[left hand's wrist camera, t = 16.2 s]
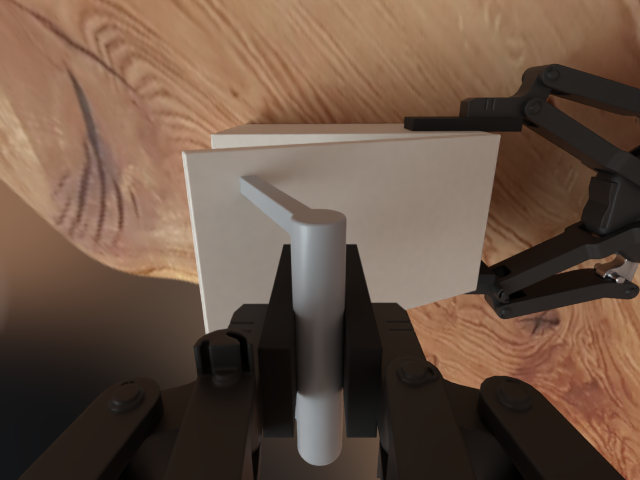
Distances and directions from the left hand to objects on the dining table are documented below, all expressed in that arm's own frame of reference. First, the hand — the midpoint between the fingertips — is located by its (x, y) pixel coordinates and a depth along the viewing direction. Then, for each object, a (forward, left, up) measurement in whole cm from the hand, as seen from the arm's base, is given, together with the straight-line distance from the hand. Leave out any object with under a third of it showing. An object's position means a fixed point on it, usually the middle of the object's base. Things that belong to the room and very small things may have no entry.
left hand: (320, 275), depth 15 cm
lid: (-1, +2, -5) cm, 5 cm away
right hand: (-3, +5, -11) cm, 12 cm away
